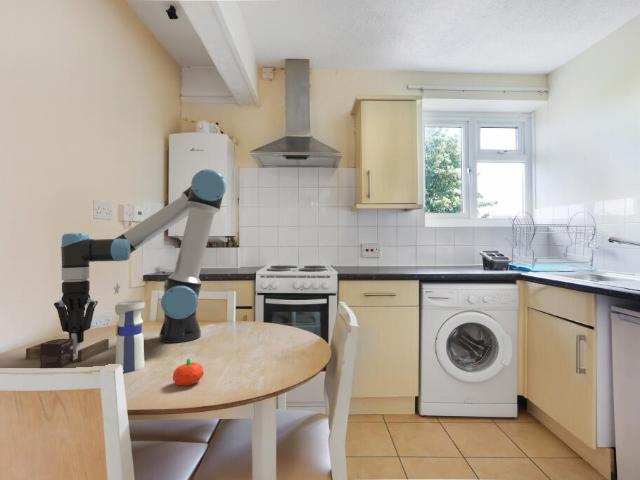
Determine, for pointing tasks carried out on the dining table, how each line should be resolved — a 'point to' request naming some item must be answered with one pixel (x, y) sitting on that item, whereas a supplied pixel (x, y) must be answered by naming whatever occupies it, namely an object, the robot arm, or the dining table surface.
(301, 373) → the dining table surface
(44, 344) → the box
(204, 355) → the dining table surface
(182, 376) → the tomato
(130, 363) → the water bottle
